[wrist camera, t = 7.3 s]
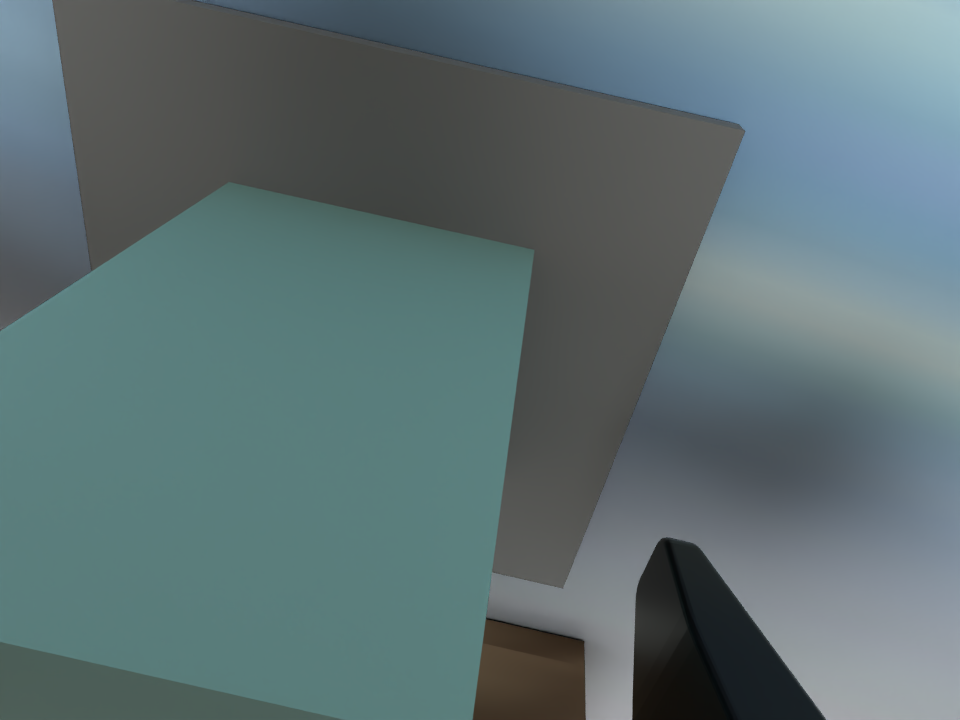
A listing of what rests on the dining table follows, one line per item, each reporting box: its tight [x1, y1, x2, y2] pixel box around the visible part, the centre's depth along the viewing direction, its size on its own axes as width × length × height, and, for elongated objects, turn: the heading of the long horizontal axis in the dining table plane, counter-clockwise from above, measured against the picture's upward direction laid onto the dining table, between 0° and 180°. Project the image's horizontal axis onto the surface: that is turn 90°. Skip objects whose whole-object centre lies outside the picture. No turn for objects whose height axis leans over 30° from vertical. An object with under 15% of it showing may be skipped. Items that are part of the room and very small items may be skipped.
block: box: [0, 182, 534, 720], centre depth 8 cm, size 4×4×7 cm
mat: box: [52, 0, 745, 588], centre depth 11 cm, size 9×9×1 cm
